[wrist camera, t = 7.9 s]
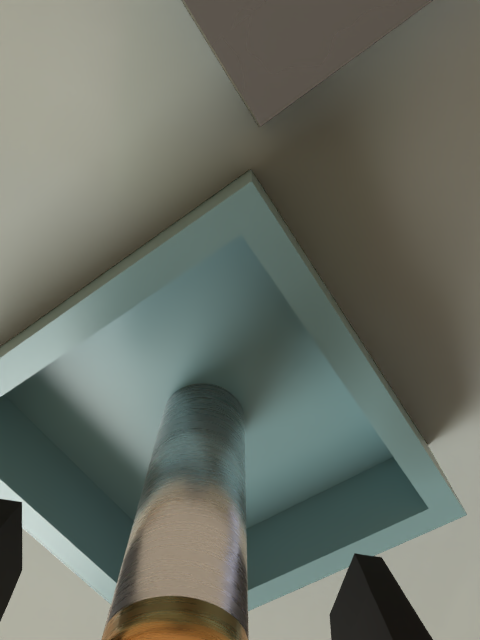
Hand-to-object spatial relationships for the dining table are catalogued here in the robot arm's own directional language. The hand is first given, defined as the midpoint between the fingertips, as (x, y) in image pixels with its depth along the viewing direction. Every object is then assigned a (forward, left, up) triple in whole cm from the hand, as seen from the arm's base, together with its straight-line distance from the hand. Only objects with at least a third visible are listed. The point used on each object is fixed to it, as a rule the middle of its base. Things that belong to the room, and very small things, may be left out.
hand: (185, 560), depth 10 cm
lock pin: (0, 0, -5) cm, 5 cm away
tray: (0, 0, -6) cm, 6 cm away
